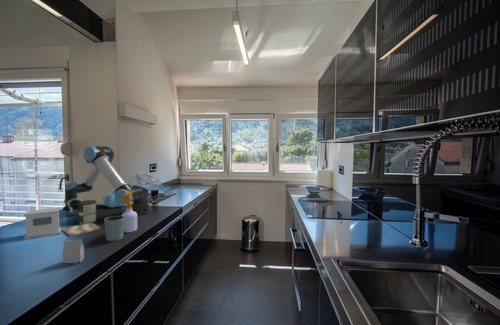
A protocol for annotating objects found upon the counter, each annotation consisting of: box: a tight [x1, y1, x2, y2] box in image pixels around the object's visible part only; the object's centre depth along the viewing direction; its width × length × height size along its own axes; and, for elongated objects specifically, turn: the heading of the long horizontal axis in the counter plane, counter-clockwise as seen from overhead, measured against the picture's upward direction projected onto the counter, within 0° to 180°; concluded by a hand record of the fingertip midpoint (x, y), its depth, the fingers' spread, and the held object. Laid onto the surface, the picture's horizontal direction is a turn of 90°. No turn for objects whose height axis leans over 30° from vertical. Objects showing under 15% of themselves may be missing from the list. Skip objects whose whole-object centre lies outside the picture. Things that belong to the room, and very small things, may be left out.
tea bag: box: [62, 239, 85, 264], centre depth 105 cm, size 4×7×10 cm, turn 105°
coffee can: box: [78, 199, 97, 225], centre depth 163 cm, size 10×10×14 cm
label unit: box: [23, 207, 62, 241], centre depth 137 cm, size 16×10×14 cm, turn 127°
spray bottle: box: [120, 192, 138, 233], centre depth 146 cm, size 9×9×25 cm
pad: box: [61, 222, 101, 237], centre depth 146 cm, size 16×16×1 cm
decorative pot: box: [102, 190, 123, 209], centre depth 206 cm, size 16×16×14 cm
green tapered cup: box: [103, 215, 124, 242], centre depth 133 cm, size 10×10×12 cm
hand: (83, 208), depth 167 cm, fingers open, 13 cm apart
